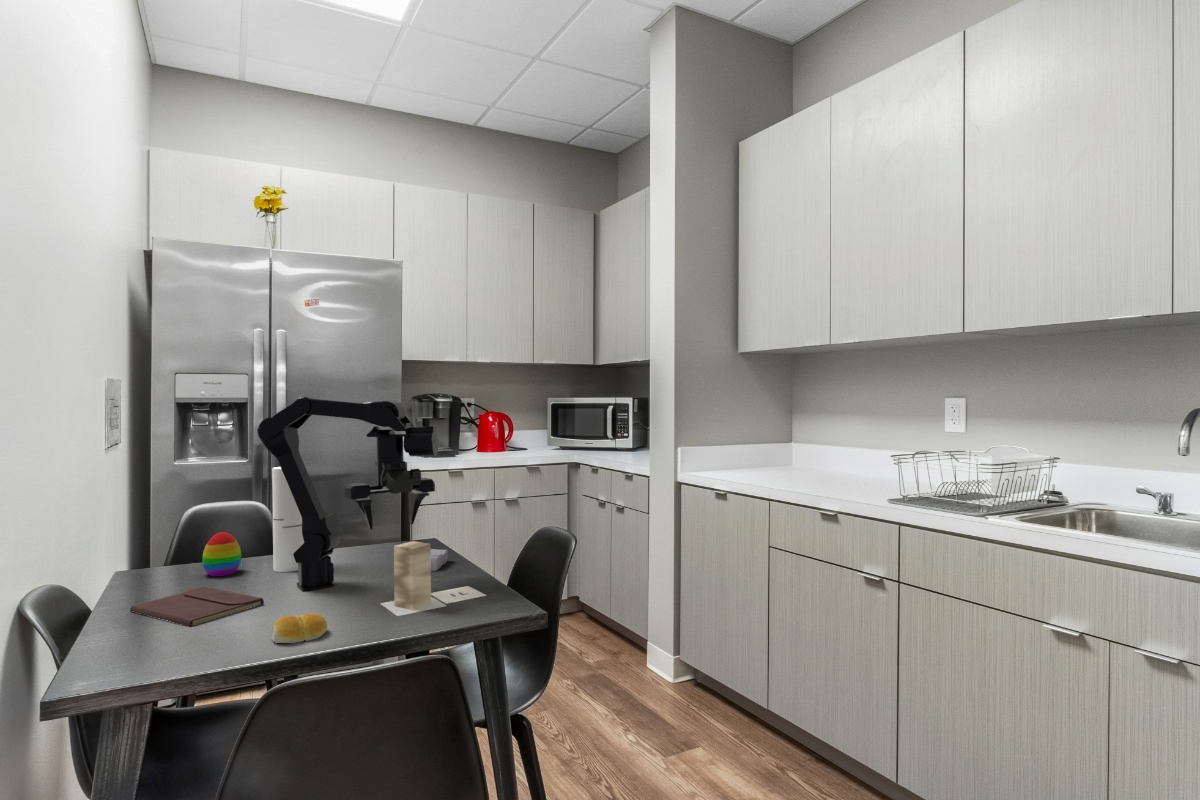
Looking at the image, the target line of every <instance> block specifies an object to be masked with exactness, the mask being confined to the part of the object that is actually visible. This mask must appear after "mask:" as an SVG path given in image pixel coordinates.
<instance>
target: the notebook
mask: <svg viewBox="0 0 1200 800" xmlns="http://www.w3.org/2000/svg"><path fill="white" fill-rule="evenodd" d="M261 604H263V605H265V604H264V598H263V597H259V596H253V595H249V594H243V593H239V592H234V591H233V592H232V591H230V590H229V591H228V590H224V589H219V588H218V589H217V588H213V587H210V586H199V587H195V588H191V589H188V590H186V591H184V592H181V593H177V594H174V595H169V596H165V597H162V598H158V599H154V600H151V601H146V602H143V603H139V604H136V605H132V606H130V609H129V610H130V611H134V612H137V613H141V614H146V615H149V616H152V617H156V618H160V619H164V620H168V621H171V622H170V623H172V622H174V623H173V624H176V623H178V624H177V625H180V624H182V625H181V626H184V625H185V626H186V627H188V626H189V628H190V626H191V627H193V625H194V626H197V625H200V624H204V623H206V621H207V622H210V621H213V620H212V619H214V620H217V619H220V618H223V617H222V616H224V617H226V616H225V615H227V616H229V615H228V614H230V615H232V614H231V613H234V612H237V611H240V612H242V611H241V610H243V611H245V610H244V609H247V608H250V607H253V608H255V607H254V606H257V605H260V606H262V605H261ZM257 607H258V606H257ZM250 609H251V608H250ZM247 610H248V609H247ZM130 611H129V612H130ZM237 613H238V612H237ZM234 614H235V613H234ZM152 617H151V618H152ZM219 617H220V618H219ZM156 618H155V619H156ZM216 618H217V619H216ZM160 619H159V620H160ZM164 620H163V621H164ZM209 620H210V621H209ZM168 621H167V622H168ZM203 622H204V623H203ZM199 623H200V624H199ZM196 624H197V625H196Z"/></svg>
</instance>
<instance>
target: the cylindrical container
mask: <svg viewBox="0 0 1200 800" xmlns="http://www.w3.org/2000/svg"><path fill="white" fill-rule="evenodd" d="M271 471H272V472H271V473H272V474H271V475H272V479H271V480H272V483H271V484H272V485H271V486H272V546H273V547H272V548H273V549H272V550H273V551H272V554H273V555H272V557H273V559H272V560H273V562H272V563H273V564H272V565H273V567H272V568H273V571H274V572H277V573H288V572H290V573H291V572H295V571H298V563H296V561H295V558H294V556H293V553H294V552H295V551H296V550H297V549H298V548H299V547H300V546H301V545H302V544H303V543H304V540H303V536H302V517H301V514H300V512H299V510H298V507H297V505H296V502H295V500H294V498H293V495H292V493H291V491H290V488H289V486H288V483H287V481H286V479H285V476H284V474H283V472H282V469H281V467H280V466H277V467H275V466H274V467H272V469H271Z"/></svg>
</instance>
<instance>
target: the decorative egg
mask: <svg viewBox="0 0 1200 800" xmlns="http://www.w3.org/2000/svg"><path fill="white" fill-rule="evenodd" d="M241 561H242V551H241V547H240V544H239V543H238V541H237V539H236V538H235V537H234V536H233V535H232V534H231V533H229V532H224V531H220V532H218V533H216V534H214V535H213V536H211V538H210V539H208V542H207V543H206V544H205V546H204V549H203V553H202V566H203V569H204V571H205V573H207V575H208V576H210V577H225V576H230V575H232V574H235V572H237V570H238V568H239V567H240V565H241Z"/></svg>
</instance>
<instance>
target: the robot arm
mask: <svg viewBox="0 0 1200 800" xmlns="http://www.w3.org/2000/svg"><path fill="white" fill-rule="evenodd" d="M313 415H314V416H325V417H333V418H344V419H352V420H354V419H356V420H359V421H362V422H365V423H368V424H371V425H375V426H373V428H372V429H371V430H370V431H369V432H368V433H366V438H376V461H375V467H376V479H375V485H370V484H368V483H365V482H358V483H349V484H348V483H347V484H346V485H345V487H344V497H345V498H346V499H349V500H350V501H352V502H354V503H356V505H358V508H359V509H360V511H361V513H362V516H363V517H364V519H365V523H366V525H367V526H368V530H369V531H371V530H373V527H374V526H373V514H372V504H373V503H372V502H373V499H372V498H370V495H375V494H376V495H377V494H385V493H391V494H393V495H396V494H400V493H408V518H409V519H408V520H409V524H410V525H414V523H415V519H416V516H417V514H418V511H419V508H420V506H421V504H422V502H423V500H424V498H426V497H428V496H430V492H433V493H434V492H436V482H435V481H434V479H433V478H428V477H422V470H421V469H420V468H411V469H410V470H408V469H407V464H406V461H404V460H405V459H404V457H405V456H404V452H405V453H406V454H408V455H409V457H436V456H437V455H438V453H439V439H438V434H437V431H436V426H435V425H426V426H414V424H413V423H412V422H411V420H410V418H409V417H408V416H407V414H406V410H405V407H404V405H402V403H401V402H400V401H396V400H381V401H380V400H379V401H368V402H357V401H346V400H337V399H326V398H325V399H324V398H316V397H314V396H301V397H298V398H297V399H296V400H294V401H293V402H292V403H291V404H290V405H288V406H286V407H285V408H283V409H282V410H280V411H278V412H276V414H274V415H273V416H270V417H267V418H264V419H263V420H262V421H261V422H259V424H258V427H257V430H256V431H257V436H258V437H259V440H260V441H261V443H262V444H263V445H264V447H265V448H266V450H267V451H269V453H270V454H271V455H272V456H273V457H275V459H276V460H277V462H278V464H279V467H281V469H282V472H283V474H284V476H285V479H286V481H287V483H288V486H289V488H290V491H291V493H292V495H293V498H294V500H295V502H296V505H297V507H298V510H299V512H300V514H301V517H302V536H303V540H304V543H303V544H302V545H301V546H300V547H299V548H298V549H297V550H296V551H295V552H294V553H293V556H294V558H295V561H296V563H298V570H297V571H298V573H297V574H298V577H297V578H298V580H297V581H298V582H296V584H295V585H296V586H297V588H299V590H301V591H303V592H304V591H310V590H318V589H323V588H329V587H333V586H334V583H333V582H334V581H335V580H334V577H335V575H334V574H335V571H334V569H335V568H334V566H335V565H334V563H333V562H332V557H331V556H330V555H332V554H333V552H334V549H335V548H336V547H337V546H338V545H339V544H340V542H341V539H342V536H343V535H342V530H343V526H342V525H340V523H339V521H338V520H339V519H338V516H337V514H336V513H335V512H333V513H331V514H329V513H328V512H326V510H325V509H324V508H323V505H322V503H321V501H320V498H319V496H318V494H317V492H316V490H315V487H314V483H313V482H312V479H311V478H310V477H311V476H309V475H310V474H309V473H308V471H307V470H308V469H307V468H306V466H305V463H304V460H303V458H302V455H301V454H300V437H299V432H298V430H299V429H301V427H303V425H305V424H306V422H307V421H308V420H309V418H311V417H312V416H313ZM381 427H382V428H381ZM383 428H384V429H383ZM385 428H387V429H385ZM388 428H389V429H388ZM396 432H405V433H396Z"/></svg>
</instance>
